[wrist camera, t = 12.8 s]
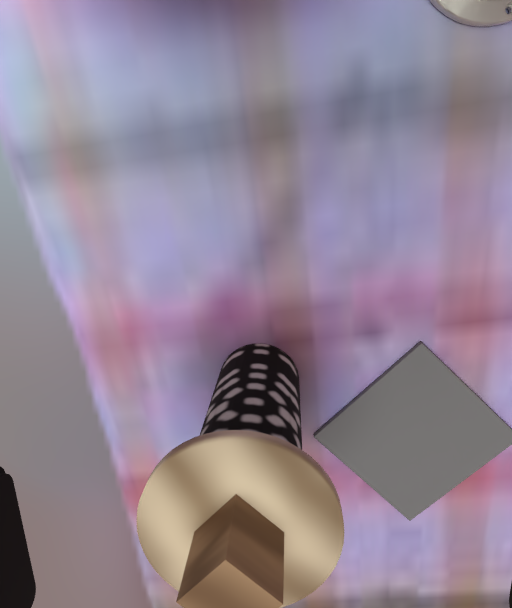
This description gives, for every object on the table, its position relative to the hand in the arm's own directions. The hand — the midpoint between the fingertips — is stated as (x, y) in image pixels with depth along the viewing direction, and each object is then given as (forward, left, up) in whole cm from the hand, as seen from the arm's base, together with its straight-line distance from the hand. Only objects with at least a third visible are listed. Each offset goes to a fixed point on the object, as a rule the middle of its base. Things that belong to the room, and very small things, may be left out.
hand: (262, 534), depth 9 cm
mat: (+6, +25, -38) cm, 46 cm away
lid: (+13, +9, -18) cm, 24 cm away
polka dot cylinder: (+13, +9, -38) cm, 42 cm away
